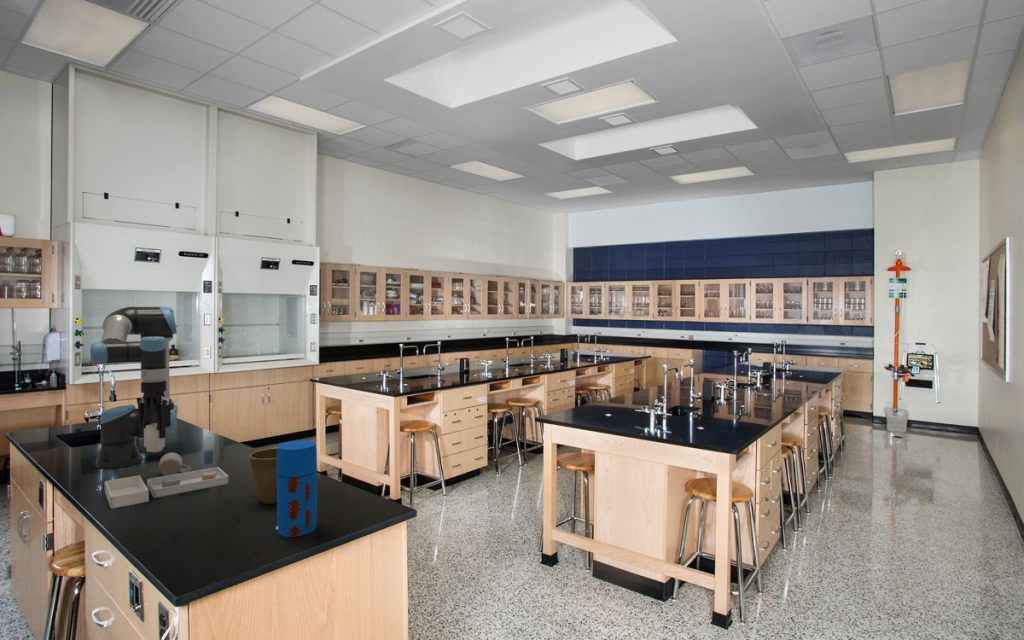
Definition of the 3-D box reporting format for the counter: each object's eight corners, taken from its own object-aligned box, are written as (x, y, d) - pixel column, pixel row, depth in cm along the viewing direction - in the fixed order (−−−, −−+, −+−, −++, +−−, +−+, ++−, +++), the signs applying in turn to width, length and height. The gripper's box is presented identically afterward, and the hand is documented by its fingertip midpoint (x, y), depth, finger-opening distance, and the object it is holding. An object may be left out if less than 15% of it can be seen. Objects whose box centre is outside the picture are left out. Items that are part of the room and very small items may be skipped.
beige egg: (155, 447, 196) (155, 422, 195) (166, 448, 194) (166, 423, 194) (142, 451, 191) (142, 425, 191) (153, 452, 189) (153, 426, 189)
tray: (146, 487, 197) (146, 479, 197) (218, 474, 212) (218, 466, 212) (153, 498, 185) (153, 489, 185) (228, 484, 200) (228, 476, 200)
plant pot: (305, 500, 185) (305, 452, 184) (260, 511, 174) (259, 461, 174) (287, 489, 195) (286, 444, 195) (243, 499, 184) (242, 452, 184)
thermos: (284, 523, 165) (284, 440, 164) (321, 522, 166) (320, 440, 165) (271, 538, 154) (271, 450, 153) (310, 537, 155) (310, 449, 154)
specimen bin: (104, 492, 191) (104, 481, 191) (139, 486, 198) (139, 475, 198) (110, 509, 175) (110, 497, 175) (148, 502, 182) (148, 490, 182)
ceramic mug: (158, 478, 206) (158, 458, 206) (159, 473, 213) (159, 453, 213) (190, 475, 212) (191, 455, 211) (191, 469, 219) (191, 450, 219)
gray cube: (162, 491, 191) (162, 480, 191) (174, 488, 194) (174, 477, 194) (167, 494, 189) (167, 482, 189) (179, 491, 192) (179, 479, 192)
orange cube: (204, 483, 201) (203, 472, 200) (216, 482, 202) (216, 471, 202) (202, 486, 197) (202, 475, 197) (214, 485, 198) (214, 474, 198)
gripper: (124, 380, 191) (125, 447, 192) (163, 383, 186) (164, 451, 186) (144, 378, 198) (145, 442, 199) (182, 380, 193) (183, 446, 193)
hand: (154, 446), depth 193 cm, fingers closed on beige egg, 5 cm apart
